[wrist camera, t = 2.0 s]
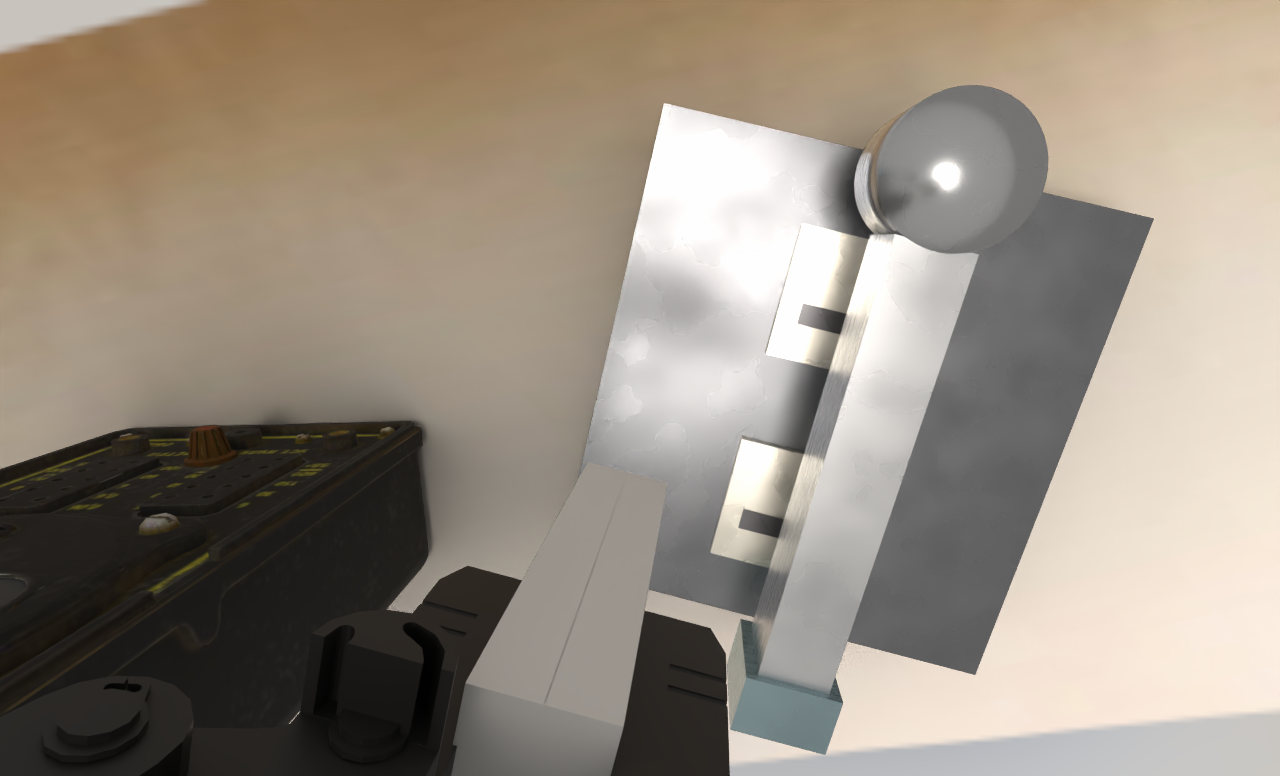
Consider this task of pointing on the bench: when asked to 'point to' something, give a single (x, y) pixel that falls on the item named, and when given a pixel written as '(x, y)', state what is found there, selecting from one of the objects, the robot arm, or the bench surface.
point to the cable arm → (879, 390)
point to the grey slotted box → (800, 362)
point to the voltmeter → (202, 558)
